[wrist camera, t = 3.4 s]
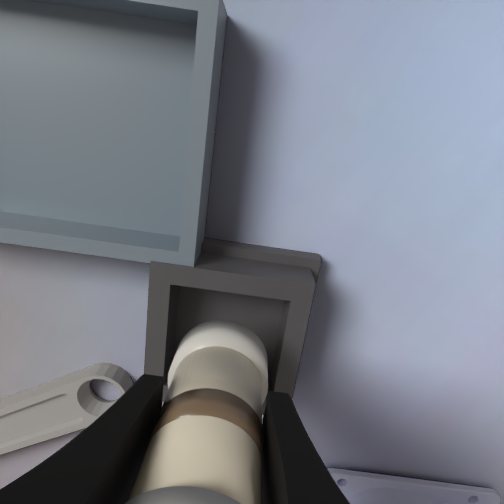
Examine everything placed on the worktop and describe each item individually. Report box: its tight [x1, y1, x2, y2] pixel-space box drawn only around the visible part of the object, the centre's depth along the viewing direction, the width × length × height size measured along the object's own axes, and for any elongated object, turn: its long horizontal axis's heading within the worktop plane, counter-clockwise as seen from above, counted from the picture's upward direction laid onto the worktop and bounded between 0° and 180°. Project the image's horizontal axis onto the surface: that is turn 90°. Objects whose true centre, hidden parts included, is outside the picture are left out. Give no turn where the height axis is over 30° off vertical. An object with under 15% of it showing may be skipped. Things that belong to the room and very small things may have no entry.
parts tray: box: [0, 0, 227, 267], centre depth 14 cm, size 11×9×2 cm
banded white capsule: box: [125, 320, 268, 504], centre depth 10 cm, size 3×3×8 cm
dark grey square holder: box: [144, 238, 321, 415], centre depth 16 cm, size 7×7×3 cm
